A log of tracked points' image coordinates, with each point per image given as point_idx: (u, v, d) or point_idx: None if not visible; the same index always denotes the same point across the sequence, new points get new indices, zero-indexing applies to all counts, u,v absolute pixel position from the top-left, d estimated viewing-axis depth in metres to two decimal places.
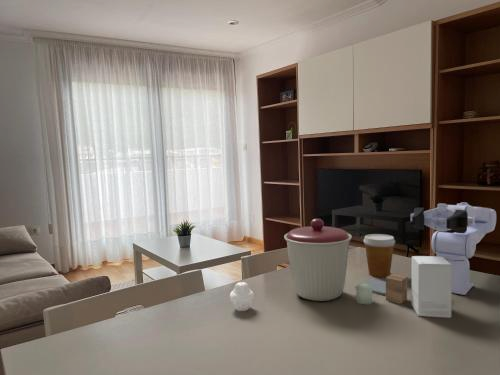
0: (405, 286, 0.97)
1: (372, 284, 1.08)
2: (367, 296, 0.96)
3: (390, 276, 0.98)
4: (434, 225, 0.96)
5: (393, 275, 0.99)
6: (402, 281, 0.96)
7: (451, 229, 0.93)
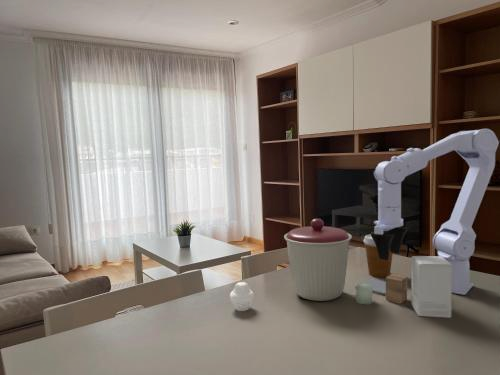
0: (405, 286, 0.97)
1: (372, 284, 1.08)
2: (367, 296, 0.96)
3: (390, 276, 0.98)
4: None
5: (393, 275, 0.99)
6: (402, 281, 0.96)
7: (394, 227, 0.97)
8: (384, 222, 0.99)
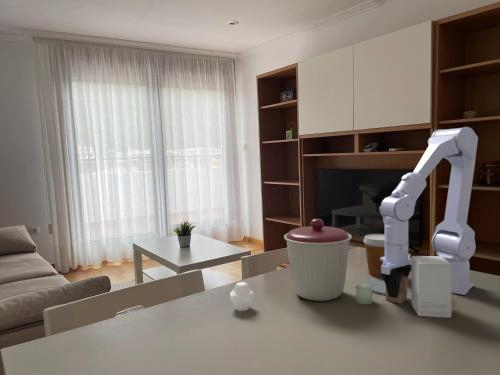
0: (405, 286, 0.97)
1: (372, 284, 1.08)
2: (367, 296, 0.96)
3: None
4: None
5: None
6: (402, 281, 0.96)
7: (401, 266, 0.94)
8: (391, 260, 0.95)
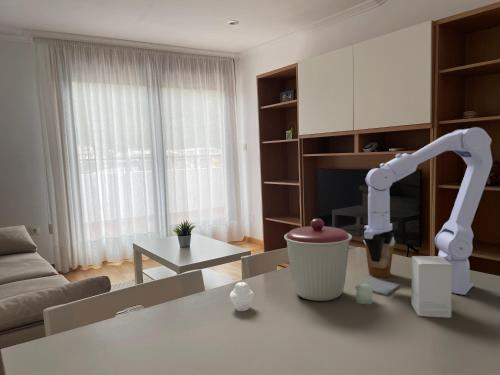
0: (387, 252, 1.05)
1: (372, 284, 1.08)
2: (367, 296, 0.96)
3: None
4: None
5: None
6: (384, 247, 1.03)
7: (383, 232, 1.02)
8: (373, 227, 1.03)
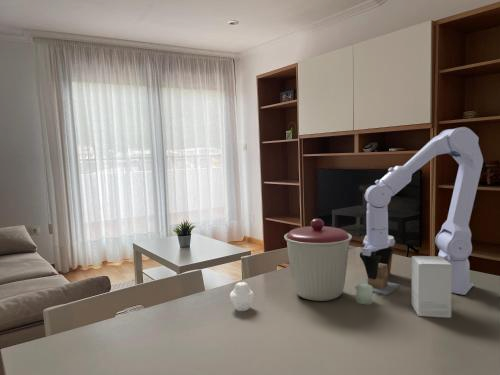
0: (385, 273, 1.06)
1: None
2: (367, 296, 0.96)
3: None
4: None
5: None
6: (382, 268, 1.05)
7: (381, 249, 1.03)
8: (372, 243, 1.04)
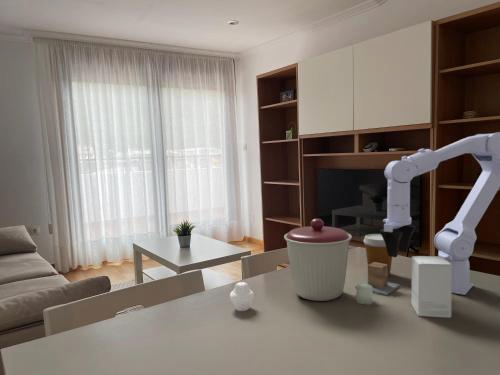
0: (385, 273, 1.06)
1: None
2: (367, 296, 0.96)
3: (372, 264, 1.07)
4: None
5: (375, 263, 1.08)
6: (382, 268, 1.05)
7: (403, 225, 1.00)
8: (393, 220, 1.01)
